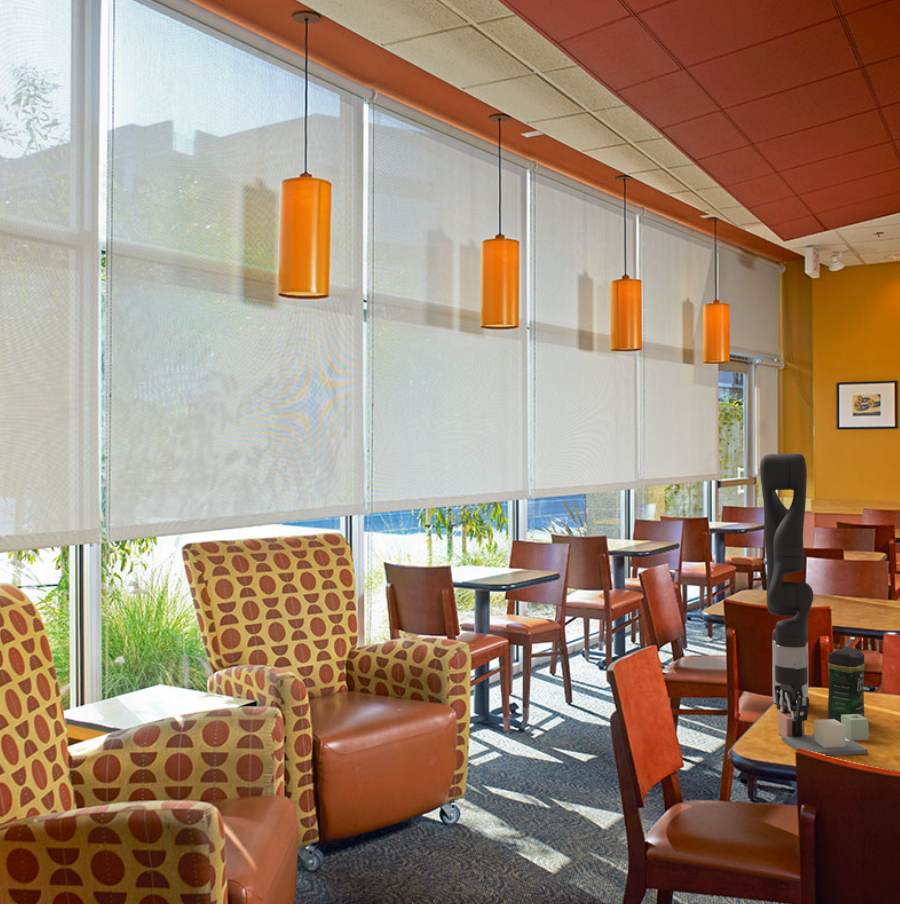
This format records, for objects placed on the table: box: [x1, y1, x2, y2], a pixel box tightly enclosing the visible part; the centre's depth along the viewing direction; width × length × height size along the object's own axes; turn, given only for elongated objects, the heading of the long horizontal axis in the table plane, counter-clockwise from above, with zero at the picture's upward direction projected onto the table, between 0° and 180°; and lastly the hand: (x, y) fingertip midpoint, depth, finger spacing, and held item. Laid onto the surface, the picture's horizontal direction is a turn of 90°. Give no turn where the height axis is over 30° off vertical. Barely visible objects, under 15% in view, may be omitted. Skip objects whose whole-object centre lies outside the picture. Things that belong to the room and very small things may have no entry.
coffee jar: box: [827, 646, 866, 723], centre depth 240 cm, size 10×8×19 cm
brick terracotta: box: [777, 712, 806, 737], centre depth 228 cm, size 4×4×5 cm
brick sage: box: [841, 714, 869, 741], centre depth 227 cm, size 4×4×5 cm
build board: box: [781, 718, 869, 757], centre depth 220 cm, size 12×15×6 cm
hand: (791, 732), depth 227 cm, fingers open, 5 cm apart
